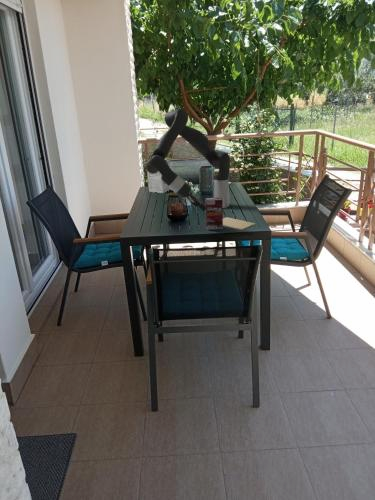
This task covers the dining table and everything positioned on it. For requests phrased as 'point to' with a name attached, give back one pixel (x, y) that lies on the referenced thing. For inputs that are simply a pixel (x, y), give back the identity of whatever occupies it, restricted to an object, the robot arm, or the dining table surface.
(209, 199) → the supplement box
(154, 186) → the supplement box
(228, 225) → the cork placemat
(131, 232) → the dining table surface
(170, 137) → the robot arm
